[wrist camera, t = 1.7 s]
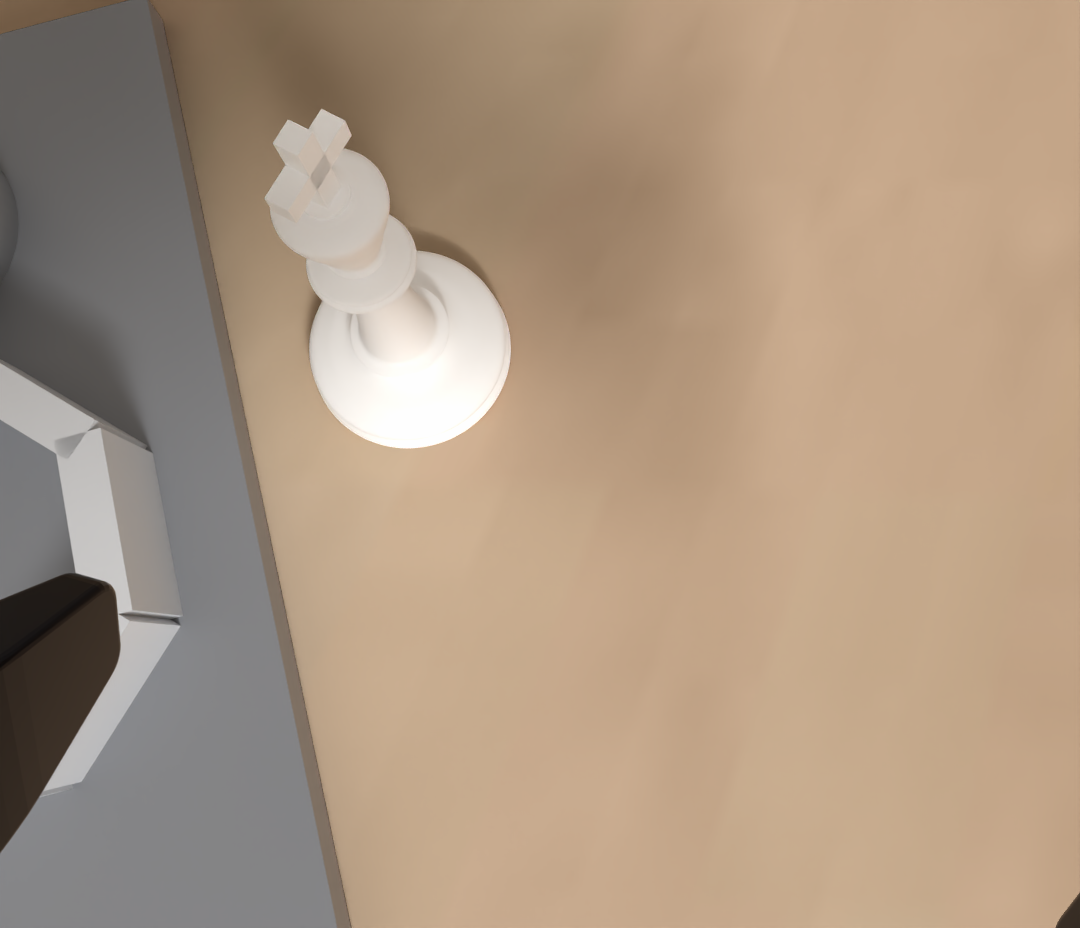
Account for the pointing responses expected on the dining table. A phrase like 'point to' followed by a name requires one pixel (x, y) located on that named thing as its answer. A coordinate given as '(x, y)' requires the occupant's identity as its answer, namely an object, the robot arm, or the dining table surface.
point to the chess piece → (383, 300)
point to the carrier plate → (142, 512)
